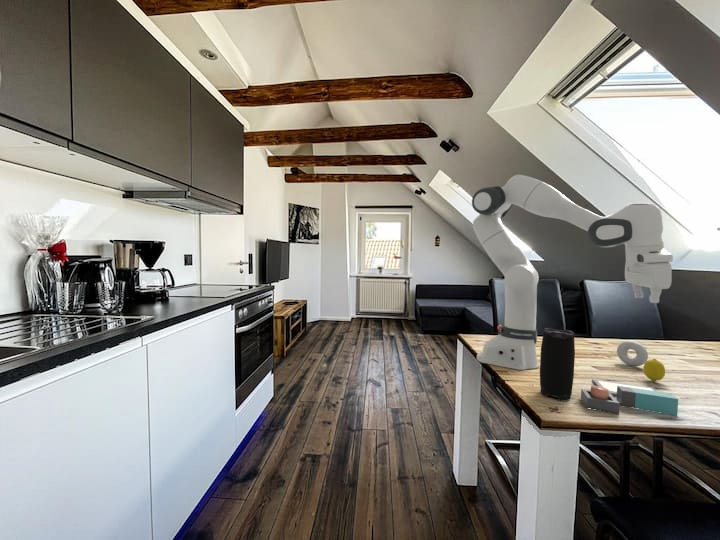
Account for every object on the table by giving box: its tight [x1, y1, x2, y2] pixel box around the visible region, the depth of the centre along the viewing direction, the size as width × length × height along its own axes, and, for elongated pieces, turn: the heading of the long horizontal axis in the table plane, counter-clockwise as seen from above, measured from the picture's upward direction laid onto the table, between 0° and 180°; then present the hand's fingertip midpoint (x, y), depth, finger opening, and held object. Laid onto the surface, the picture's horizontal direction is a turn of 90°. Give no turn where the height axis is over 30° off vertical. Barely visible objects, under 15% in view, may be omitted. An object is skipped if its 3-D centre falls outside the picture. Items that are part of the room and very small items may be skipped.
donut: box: [616, 340, 649, 367], centre depth 128 cm, size 10×4×10 cm, turn 28°
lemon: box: [643, 358, 666, 383], centre depth 110 cm, size 6×6×8 cm
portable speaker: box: [539, 327, 576, 401], centre depth 95 cm, size 9×9×20 cm
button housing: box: [580, 388, 621, 415], centre depth 89 cm, size 7×7×3 cm
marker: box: [615, 386, 679, 417], centre depth 89 cm, size 12×4×4 cm, turn 68°
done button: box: [590, 385, 609, 400], centre depth 89 cm, size 4×4×3 cm
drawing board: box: [591, 378, 659, 397], centre depth 100 cm, size 16×12×1 cm
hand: (646, 300), depth 99 cm, fingers open, 8 cm apart
